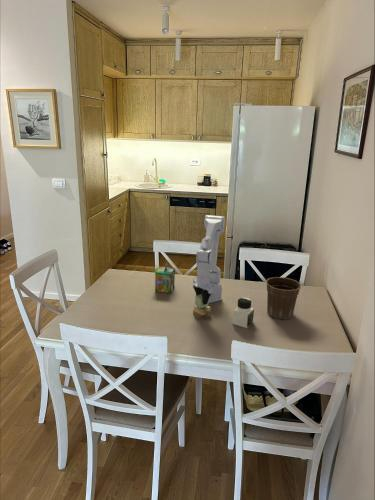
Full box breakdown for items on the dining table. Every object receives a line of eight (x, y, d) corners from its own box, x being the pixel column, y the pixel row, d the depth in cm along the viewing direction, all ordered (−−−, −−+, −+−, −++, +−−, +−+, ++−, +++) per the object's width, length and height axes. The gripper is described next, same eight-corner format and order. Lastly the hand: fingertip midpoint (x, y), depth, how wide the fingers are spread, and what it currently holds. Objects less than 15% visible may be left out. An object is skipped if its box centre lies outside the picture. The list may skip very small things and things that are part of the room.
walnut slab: (203, 312, 178) (203, 307, 177) (210, 317, 173) (210, 312, 173) (193, 314, 175) (193, 310, 175) (199, 320, 170) (199, 315, 170)
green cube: (203, 302, 175) (203, 293, 174) (208, 306, 171) (208, 297, 170) (195, 304, 173) (195, 295, 172) (200, 308, 169) (200, 299, 168)
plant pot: (274, 303, 189) (278, 274, 184) (303, 314, 178) (307, 283, 173) (256, 313, 178) (259, 282, 173) (285, 325, 167) (289, 293, 162)
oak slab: (201, 307, 177) (202, 302, 177) (210, 311, 174) (210, 306, 173) (193, 311, 174) (194, 306, 173) (202, 315, 170) (202, 310, 169)
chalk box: (159, 285, 207) (159, 260, 202) (174, 287, 205) (175, 262, 201) (154, 291, 198) (154, 266, 194) (170, 293, 197) (171, 268, 192)
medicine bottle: (247, 328, 163) (249, 304, 160) (232, 324, 167) (234, 300, 163) (253, 322, 169) (255, 298, 165) (239, 318, 173) (240, 294, 169)
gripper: (187, 271, 172) (187, 297, 176) (204, 282, 160) (203, 310, 164) (200, 268, 175) (199, 294, 179) (217, 279, 163) (216, 306, 167)
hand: (202, 301), depth 172 cm, fingers closed on green cube, 4 cm apart
